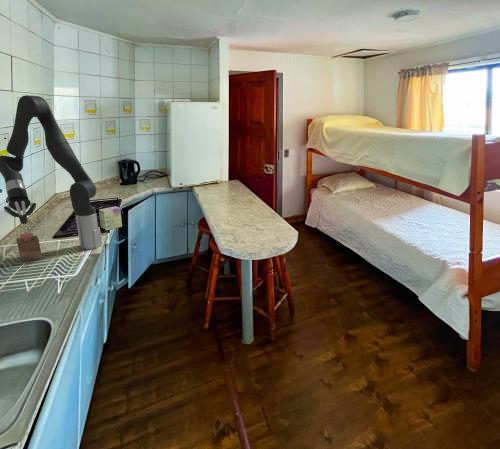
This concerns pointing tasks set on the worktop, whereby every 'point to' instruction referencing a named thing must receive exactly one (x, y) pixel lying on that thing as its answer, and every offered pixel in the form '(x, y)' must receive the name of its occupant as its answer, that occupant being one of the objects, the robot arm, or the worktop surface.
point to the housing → (29, 249)
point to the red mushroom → (26, 236)
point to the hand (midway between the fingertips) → (24, 223)
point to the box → (110, 218)
